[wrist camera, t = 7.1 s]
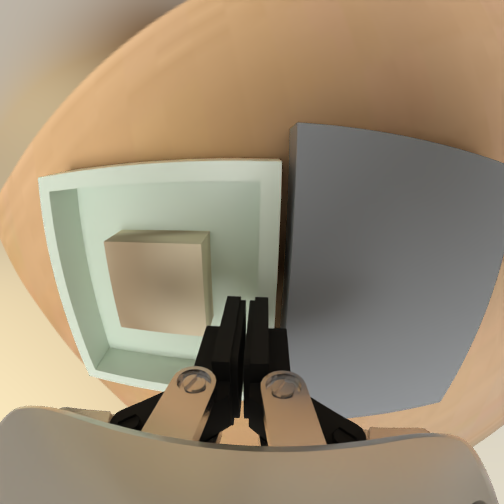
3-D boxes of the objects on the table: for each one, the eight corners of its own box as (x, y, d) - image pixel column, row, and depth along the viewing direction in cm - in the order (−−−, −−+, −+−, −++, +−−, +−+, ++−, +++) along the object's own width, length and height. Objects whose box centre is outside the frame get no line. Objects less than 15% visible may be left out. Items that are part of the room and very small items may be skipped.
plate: (479, 160, 12) (517, 168, 9) (423, 371, 18) (440, 401, 14) (289, 129, 13) (297, 122, 9) (274, 382, 18) (275, 421, 15)
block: (103, 241, 12) (121, 229, 14) (121, 326, 14) (134, 308, 16) (201, 244, 12) (209, 231, 14) (207, 336, 14) (213, 315, 16)
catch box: (278, 158, 13) (282, 161, 10) (268, 367, 18) (268, 401, 15) (70, 170, 14) (38, 177, 11) (106, 349, 18) (89, 375, 15)
